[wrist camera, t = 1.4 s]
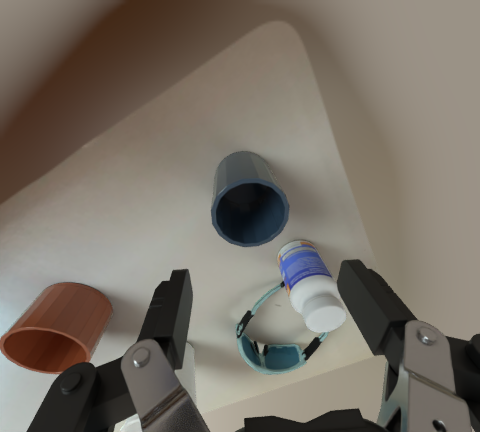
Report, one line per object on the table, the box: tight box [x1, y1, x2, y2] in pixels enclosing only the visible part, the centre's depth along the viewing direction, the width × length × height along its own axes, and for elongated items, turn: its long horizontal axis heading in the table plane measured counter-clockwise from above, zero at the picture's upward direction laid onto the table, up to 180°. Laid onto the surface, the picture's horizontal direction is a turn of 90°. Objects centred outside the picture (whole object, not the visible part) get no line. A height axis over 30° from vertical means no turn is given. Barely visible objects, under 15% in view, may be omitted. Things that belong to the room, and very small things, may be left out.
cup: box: [120, 342, 197, 432], centre depth 34 cm, size 10×10×11 cm
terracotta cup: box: [0, 283, 113, 374], centre depth 29 cm, size 10×10×6 cm
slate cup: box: [211, 151, 289, 247], centre depth 21 cm, size 6×6×8 cm
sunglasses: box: [236, 281, 329, 375], centre depth 35 cm, size 14×15×5 cm
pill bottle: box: [277, 240, 346, 333], centre depth 26 cm, size 5×5×10 cm
